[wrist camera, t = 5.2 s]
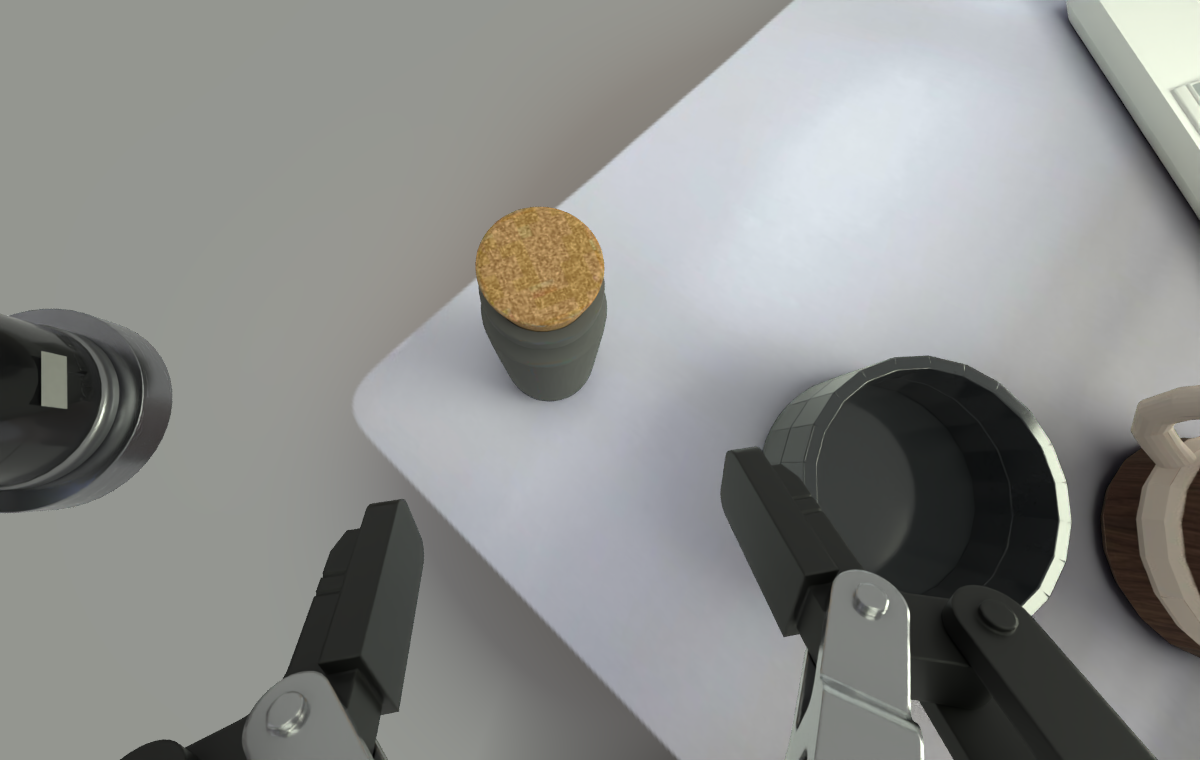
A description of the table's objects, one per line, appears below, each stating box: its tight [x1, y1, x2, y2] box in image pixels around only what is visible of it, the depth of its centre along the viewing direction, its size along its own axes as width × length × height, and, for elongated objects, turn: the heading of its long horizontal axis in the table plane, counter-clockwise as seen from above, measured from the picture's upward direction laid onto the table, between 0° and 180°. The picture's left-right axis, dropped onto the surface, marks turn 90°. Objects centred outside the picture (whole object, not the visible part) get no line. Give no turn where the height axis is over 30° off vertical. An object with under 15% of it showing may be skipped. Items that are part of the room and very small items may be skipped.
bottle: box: [476, 207, 607, 401], centre depth 24 cm, size 6×6×15 cm
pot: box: [762, 356, 1072, 616], centre depth 29 cm, size 16×16×6 cm
